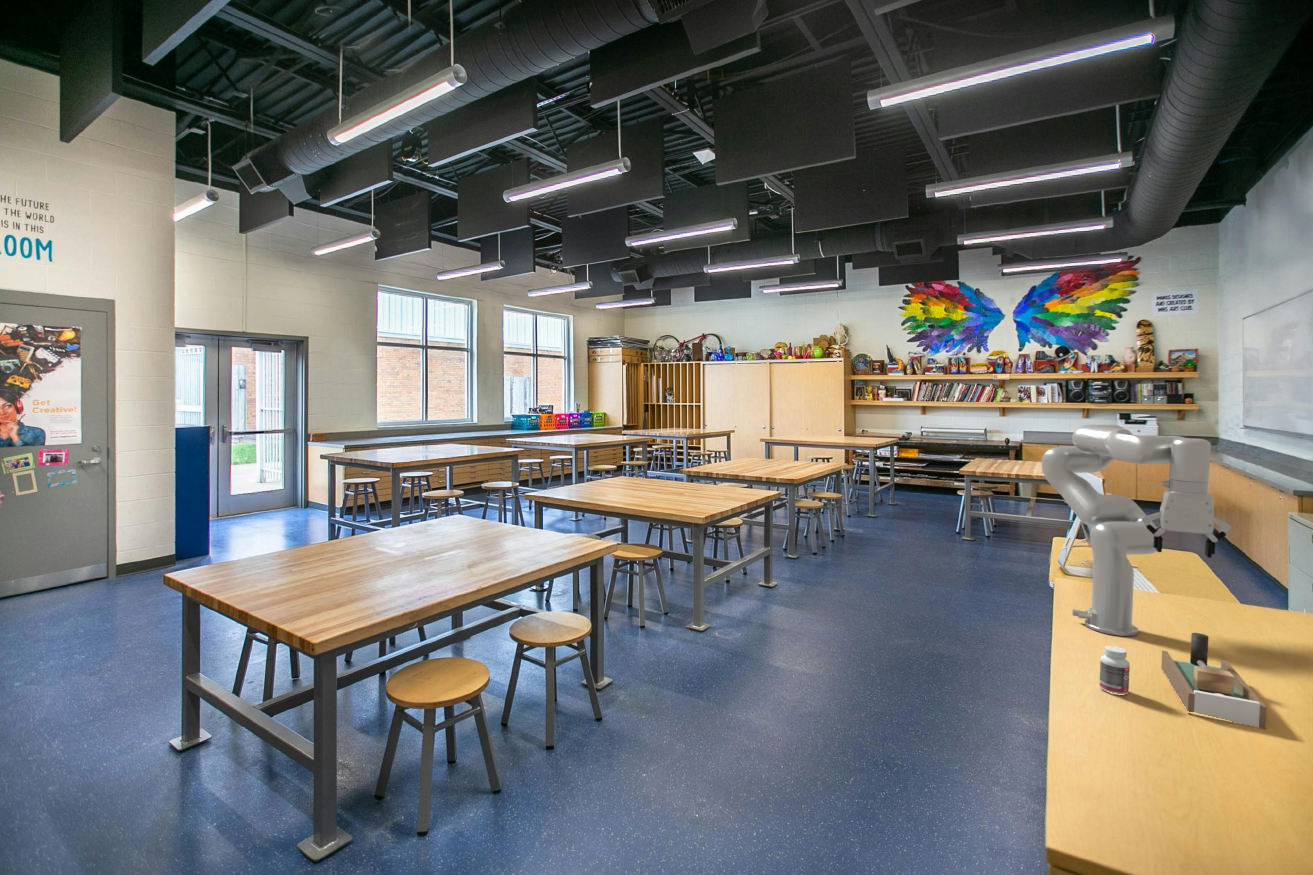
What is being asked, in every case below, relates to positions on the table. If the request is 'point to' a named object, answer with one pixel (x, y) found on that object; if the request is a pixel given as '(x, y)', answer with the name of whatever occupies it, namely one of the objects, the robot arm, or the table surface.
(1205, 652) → the striker
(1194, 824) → the table surface
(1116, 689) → the pill bottle
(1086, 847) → the table surface
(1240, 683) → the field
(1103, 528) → the robot arm
